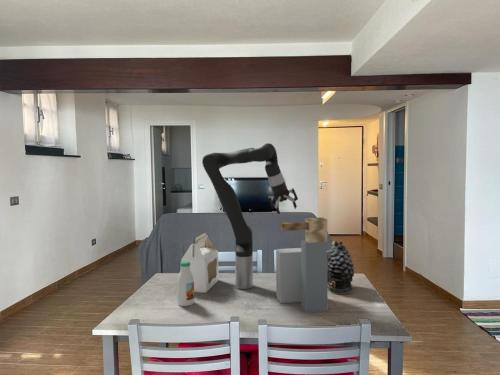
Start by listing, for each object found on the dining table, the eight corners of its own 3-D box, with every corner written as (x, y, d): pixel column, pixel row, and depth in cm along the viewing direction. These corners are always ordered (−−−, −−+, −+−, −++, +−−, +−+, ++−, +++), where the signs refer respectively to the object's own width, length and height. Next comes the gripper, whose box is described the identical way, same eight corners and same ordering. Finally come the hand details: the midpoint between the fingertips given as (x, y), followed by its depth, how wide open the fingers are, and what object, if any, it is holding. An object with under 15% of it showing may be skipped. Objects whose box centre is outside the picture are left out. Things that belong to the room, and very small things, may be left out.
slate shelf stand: (288, 314, 151) (287, 243, 149) (276, 297, 171) (275, 235, 170) (327, 311, 154) (327, 241, 152) (311, 294, 174) (310, 233, 173)
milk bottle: (180, 307, 159) (179, 265, 158) (175, 302, 166) (174, 261, 165) (196, 304, 163) (195, 262, 162) (191, 299, 170) (190, 259, 169)
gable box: (205, 293, 178) (204, 239, 177) (181, 291, 181) (180, 238, 180) (218, 279, 200) (218, 231, 199) (197, 278, 203) (196, 231, 202)
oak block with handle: (283, 244, 149) (283, 220, 148) (279, 241, 155) (279, 219, 154) (327, 241, 152) (327, 219, 152) (322, 239, 158) (322, 217, 158)
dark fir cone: (319, 283, 192) (318, 238, 191) (345, 282, 193) (345, 237, 192) (331, 296, 171) (331, 246, 170) (360, 295, 172) (360, 245, 171)
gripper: (290, 175, 177) (299, 204, 181) (263, 185, 178) (273, 212, 182) (291, 179, 169) (301, 209, 174) (264, 189, 171) (274, 218, 175)
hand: (287, 211), depth 178 cm, fingers open, 8 cm apart
